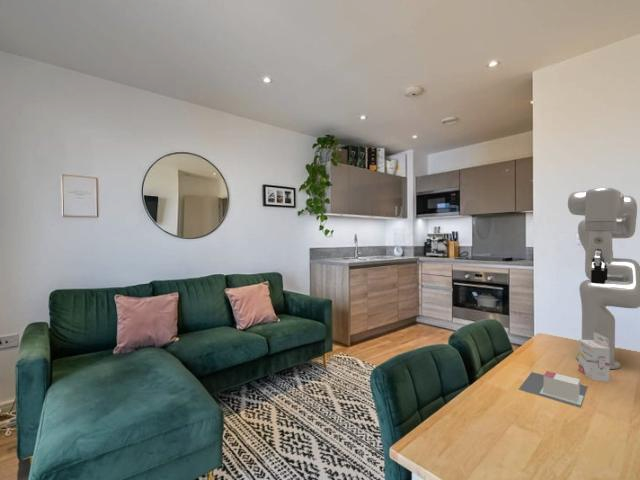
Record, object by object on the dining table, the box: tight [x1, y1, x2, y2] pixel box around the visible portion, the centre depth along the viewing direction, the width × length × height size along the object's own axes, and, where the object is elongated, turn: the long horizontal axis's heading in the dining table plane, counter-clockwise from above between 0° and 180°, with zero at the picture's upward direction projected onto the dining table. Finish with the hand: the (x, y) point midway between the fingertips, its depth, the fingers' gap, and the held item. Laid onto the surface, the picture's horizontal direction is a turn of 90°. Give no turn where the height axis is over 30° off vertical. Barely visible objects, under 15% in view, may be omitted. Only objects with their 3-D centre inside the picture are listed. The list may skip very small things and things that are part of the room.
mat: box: [518, 371, 588, 409], centre depth 99 cm, size 18×15×1 cm
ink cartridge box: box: [578, 332, 610, 383], centre depth 108 cm, size 9×5×15 cm, turn 168°
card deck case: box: [543, 370, 581, 402], centre depth 95 cm, size 8×5×5 cm, turn 46°
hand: (599, 281), depth 101 cm, fingers open, 9 cm apart
